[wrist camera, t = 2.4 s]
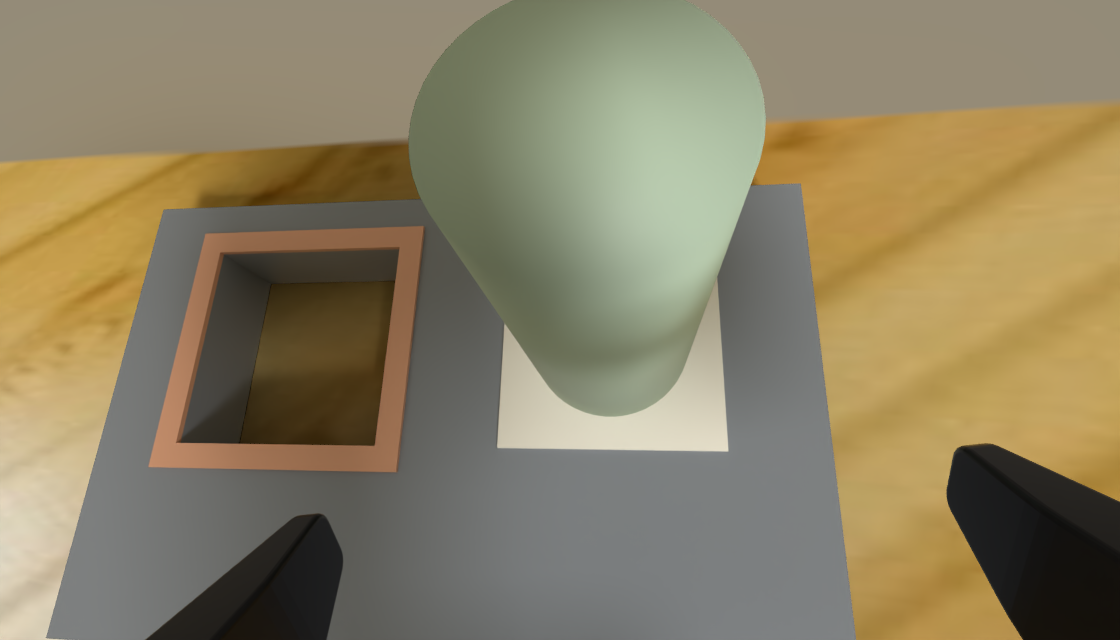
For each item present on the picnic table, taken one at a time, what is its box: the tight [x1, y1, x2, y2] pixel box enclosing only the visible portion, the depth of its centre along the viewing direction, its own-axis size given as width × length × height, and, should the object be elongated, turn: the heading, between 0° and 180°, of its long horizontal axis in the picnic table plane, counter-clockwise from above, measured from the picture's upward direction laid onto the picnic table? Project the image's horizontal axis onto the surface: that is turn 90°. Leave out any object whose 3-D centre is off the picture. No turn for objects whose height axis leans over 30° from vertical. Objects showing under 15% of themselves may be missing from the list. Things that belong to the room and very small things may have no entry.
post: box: [409, 0, 766, 417], centre depth 13 cm, size 5×5×11 cm
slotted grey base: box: [46, 184, 856, 640], centre depth 20 cm, size 24×15×3 cm, turn 88°
